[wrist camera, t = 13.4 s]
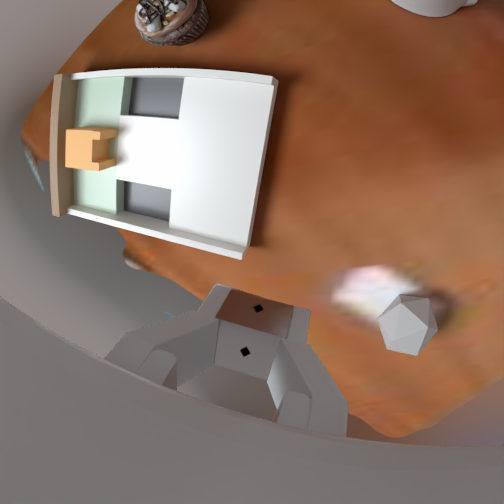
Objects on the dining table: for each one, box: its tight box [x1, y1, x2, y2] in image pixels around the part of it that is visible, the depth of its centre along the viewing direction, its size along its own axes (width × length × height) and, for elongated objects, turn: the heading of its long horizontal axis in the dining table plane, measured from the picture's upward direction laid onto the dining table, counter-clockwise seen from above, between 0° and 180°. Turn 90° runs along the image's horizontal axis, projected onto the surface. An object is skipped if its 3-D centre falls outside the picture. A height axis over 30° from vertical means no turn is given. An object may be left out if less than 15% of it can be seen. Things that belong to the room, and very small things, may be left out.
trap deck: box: [50, 68, 279, 260], centre depth 40 cm, size 24×34×6 cm
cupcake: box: [134, 0, 209, 46], centre depth 29 cm, size 10×10×10 cm
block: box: [65, 127, 117, 171], centre depth 40 cm, size 6×8×4 cm
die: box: [377, 295, 438, 356], centre depth 40 cm, size 8×9×10 cm
